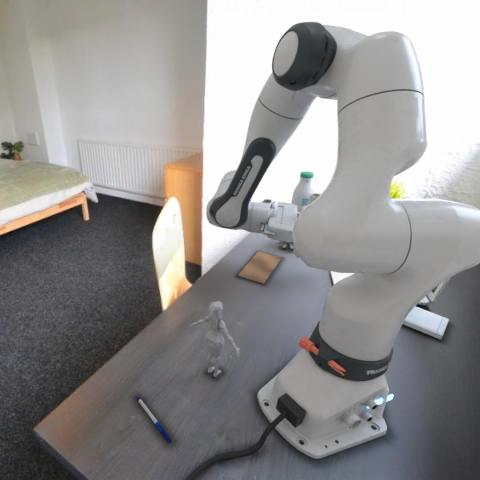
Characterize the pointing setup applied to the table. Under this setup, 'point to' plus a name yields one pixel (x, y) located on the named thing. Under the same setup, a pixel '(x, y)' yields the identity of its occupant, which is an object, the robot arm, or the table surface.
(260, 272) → the tan flat rectangular board
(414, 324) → the hard drive
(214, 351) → the human figurine
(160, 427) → the ballpoint pen
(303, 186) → the milk bottle
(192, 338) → the table surface
